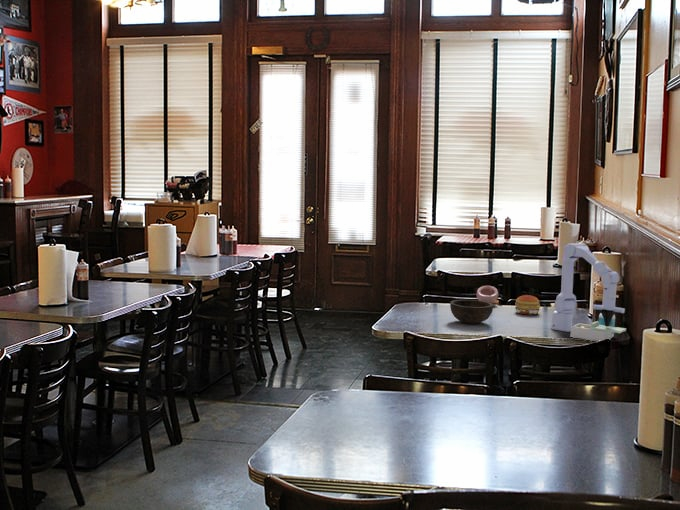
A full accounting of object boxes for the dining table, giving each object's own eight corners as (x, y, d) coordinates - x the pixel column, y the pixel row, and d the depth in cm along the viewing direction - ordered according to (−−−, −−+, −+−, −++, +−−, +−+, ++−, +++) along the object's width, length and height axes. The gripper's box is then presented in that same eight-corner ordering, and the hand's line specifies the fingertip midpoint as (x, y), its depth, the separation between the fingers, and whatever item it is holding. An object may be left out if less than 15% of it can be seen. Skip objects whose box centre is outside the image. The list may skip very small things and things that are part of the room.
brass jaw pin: (584, 338, 400) (585, 327, 399) (578, 337, 402) (578, 326, 401) (586, 337, 402) (587, 326, 401) (580, 336, 404) (581, 325, 403)
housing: (570, 337, 400) (571, 326, 400) (578, 334, 408) (578, 323, 407) (603, 343, 391) (604, 331, 390) (610, 339, 399) (611, 328, 398)
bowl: (446, 317, 439) (447, 299, 438) (488, 319, 439) (489, 300, 438) (452, 326, 417) (453, 306, 416) (496, 328, 418) (497, 308, 416)
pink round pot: (475, 305, 477) (476, 285, 475) (476, 302, 488) (477, 282, 487) (497, 307, 474) (498, 287, 473) (497, 303, 486) (498, 284, 484)
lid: (589, 328, 394) (590, 323, 394) (596, 325, 402) (597, 320, 401) (619, 333, 386) (619, 328, 386) (626, 330, 393) (626, 325, 393)
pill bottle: (614, 338, 402) (616, 310, 400) (598, 337, 403) (600, 309, 402) (612, 335, 409) (614, 308, 407) (596, 334, 411) (598, 307, 409)
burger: (529, 310, 468) (530, 292, 467) (545, 315, 456) (546, 296, 455) (509, 311, 462) (510, 293, 461) (525, 316, 450) (526, 298, 449)
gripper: (590, 296, 393) (589, 325, 395) (621, 300, 385) (619, 329, 387) (596, 294, 399) (594, 322, 401) (627, 298, 391) (624, 327, 392)
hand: (607, 326), depth 394 cm, fingers closed
